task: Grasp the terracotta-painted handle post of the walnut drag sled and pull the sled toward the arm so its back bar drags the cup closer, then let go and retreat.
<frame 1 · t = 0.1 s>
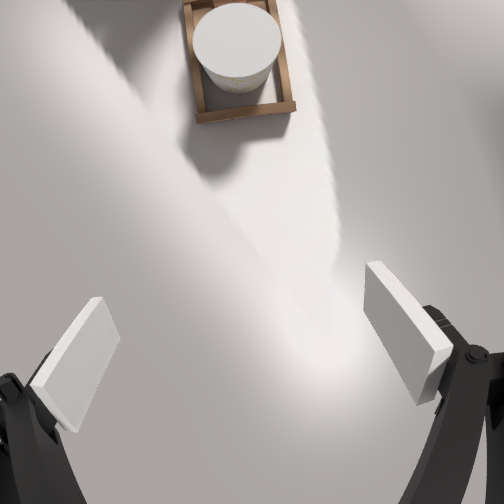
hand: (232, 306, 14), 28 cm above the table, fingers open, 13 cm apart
cup: (238, 65, 34), resting in sled
sled: (235, 36, 27), point 7 cm above the table, slide at 0.0 cm
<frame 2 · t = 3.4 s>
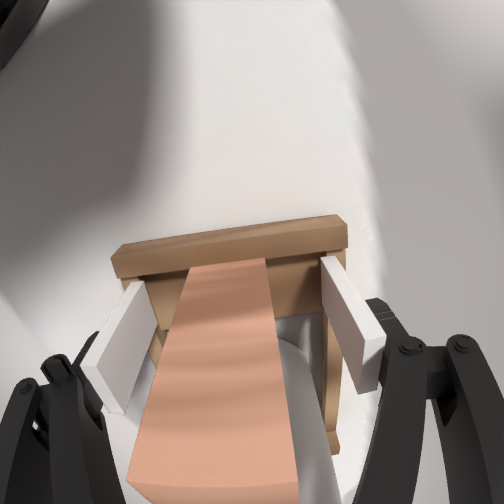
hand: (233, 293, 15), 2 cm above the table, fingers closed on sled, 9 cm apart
cup: (253, 376, 21), resting in sled
sled: (252, 440, 14), point 7 cm above the table, slide at 0.0 cm, touching gripper
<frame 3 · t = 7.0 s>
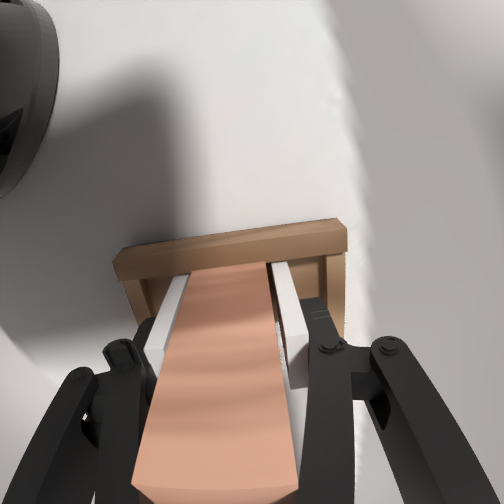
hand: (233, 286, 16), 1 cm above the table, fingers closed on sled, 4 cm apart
cup: (256, 395, 22), resting in sled
sled: (253, 441, 14), point 7 cm above the table, slide at 8.1 cm, touching gripper
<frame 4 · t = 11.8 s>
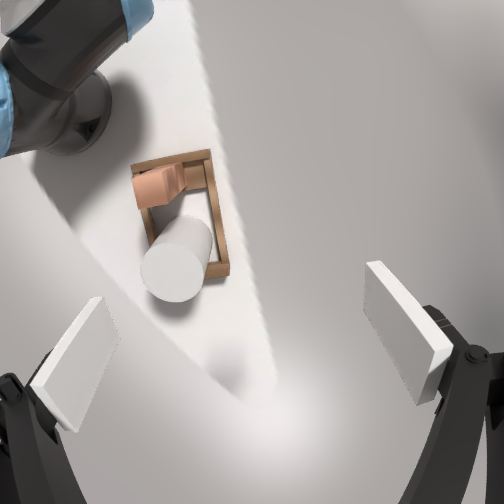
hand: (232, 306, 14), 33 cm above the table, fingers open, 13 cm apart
cup: (187, 239, 48), resting in sled
sled: (173, 228, 40), point 7 cm above the table, slide at 8.8 cm
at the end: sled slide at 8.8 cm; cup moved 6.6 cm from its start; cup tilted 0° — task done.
